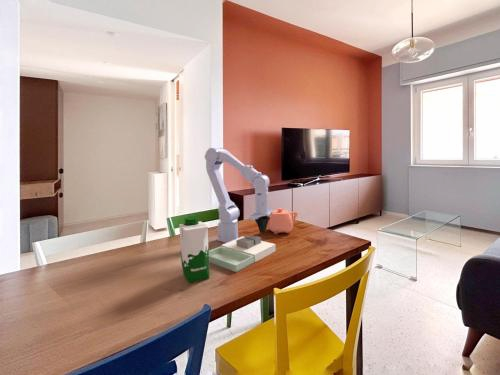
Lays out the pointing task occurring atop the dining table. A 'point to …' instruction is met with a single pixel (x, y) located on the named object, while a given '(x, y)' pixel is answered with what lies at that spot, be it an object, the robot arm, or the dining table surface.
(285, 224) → the teapot
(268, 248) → the board
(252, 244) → the tile
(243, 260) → the box
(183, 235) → the milk carton
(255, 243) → the tile
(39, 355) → the dining table surface
